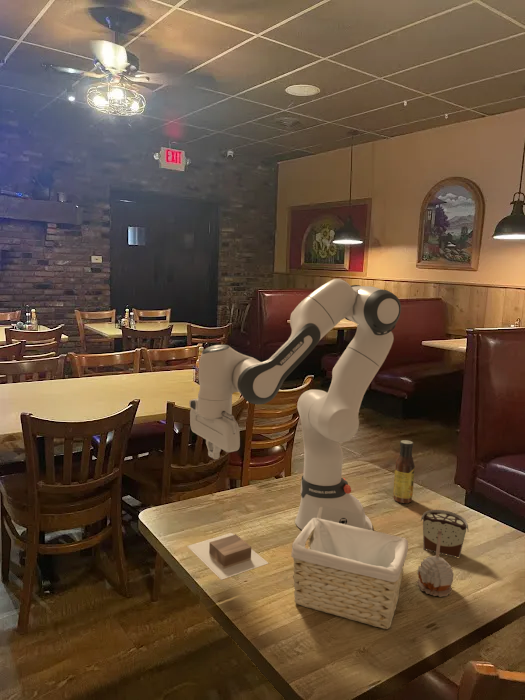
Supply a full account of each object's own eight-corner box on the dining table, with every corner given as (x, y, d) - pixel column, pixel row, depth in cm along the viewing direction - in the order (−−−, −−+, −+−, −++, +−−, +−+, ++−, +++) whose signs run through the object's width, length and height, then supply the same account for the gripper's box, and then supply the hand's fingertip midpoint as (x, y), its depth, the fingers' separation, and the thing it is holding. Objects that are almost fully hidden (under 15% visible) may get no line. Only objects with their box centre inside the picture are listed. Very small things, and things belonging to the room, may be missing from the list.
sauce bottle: (414, 504, 177) (419, 446, 174) (394, 503, 177) (400, 445, 174) (409, 496, 183) (414, 439, 180) (390, 495, 183) (395, 438, 180)
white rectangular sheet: (186, 547, 146) (186, 545, 146) (231, 533, 154) (231, 532, 153) (221, 581, 131) (221, 579, 131) (268, 564, 139) (268, 563, 139)
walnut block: (209, 542, 141) (224, 555, 135) (235, 534, 146) (251, 547, 140) (209, 554, 142) (224, 568, 136) (235, 546, 146) (250, 559, 140)
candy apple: (438, 577, 137) (444, 521, 134) (457, 596, 129) (464, 537, 127) (411, 581, 135) (416, 524, 132) (428, 600, 127) (434, 540, 125)
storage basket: (285, 605, 123) (289, 544, 121) (308, 569, 138) (312, 514, 136) (392, 637, 114) (398, 572, 112) (405, 595, 129) (410, 537, 126)
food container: (467, 549, 151) (471, 515, 149) (465, 559, 145) (469, 524, 144) (421, 537, 156) (424, 505, 154) (417, 547, 150) (421, 513, 149)
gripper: (246, 415, 136) (245, 468, 138) (206, 396, 153) (205, 444, 155) (225, 419, 133) (223, 473, 135) (186, 399, 149) (185, 447, 151)
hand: (213, 457), depth 145 cm, fingers closed
